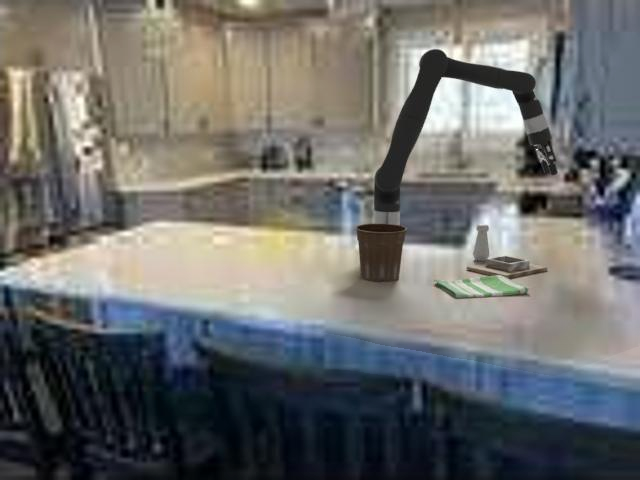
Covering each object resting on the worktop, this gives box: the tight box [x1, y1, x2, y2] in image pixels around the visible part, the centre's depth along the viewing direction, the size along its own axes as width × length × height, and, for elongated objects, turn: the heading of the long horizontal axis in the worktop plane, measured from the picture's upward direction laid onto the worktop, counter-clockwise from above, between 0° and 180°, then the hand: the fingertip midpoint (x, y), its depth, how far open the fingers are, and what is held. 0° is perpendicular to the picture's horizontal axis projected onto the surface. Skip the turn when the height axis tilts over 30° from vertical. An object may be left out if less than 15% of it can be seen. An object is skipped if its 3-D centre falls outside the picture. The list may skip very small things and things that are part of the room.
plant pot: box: [354, 223, 408, 283], centre depth 221 cm, size 16×16×16 cm
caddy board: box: [466, 255, 548, 279], centre depth 236 cm, size 22×16×4 cm
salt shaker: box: [472, 223, 491, 263], centre depth 251 cm, size 6×6×13 cm
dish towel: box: [433, 275, 530, 299], centre depth 210 cm, size 18×23×3 cm
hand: (551, 173), depth 246 cm, fingers open, 8 cm apart
